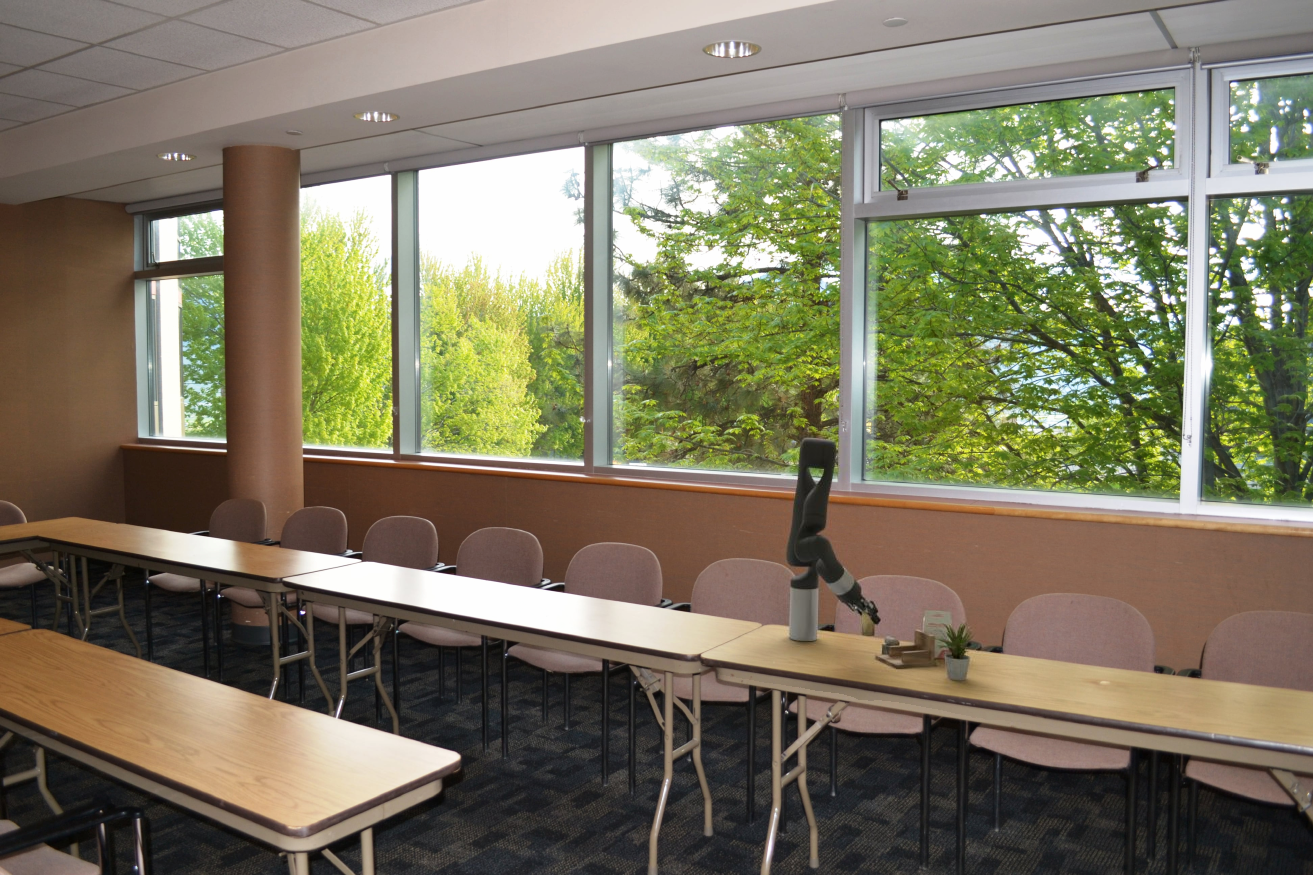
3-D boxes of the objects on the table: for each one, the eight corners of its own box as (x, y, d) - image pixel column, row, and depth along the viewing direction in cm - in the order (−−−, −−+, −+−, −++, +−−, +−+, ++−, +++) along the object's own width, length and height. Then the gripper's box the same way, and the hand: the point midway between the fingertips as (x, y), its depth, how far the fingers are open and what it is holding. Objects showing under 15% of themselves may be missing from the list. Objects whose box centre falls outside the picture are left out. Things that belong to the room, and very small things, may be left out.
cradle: (867, 654, 304) (868, 627, 304) (906, 651, 309) (907, 625, 309) (896, 668, 289) (897, 640, 288) (937, 665, 293) (937, 637, 293)
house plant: (936, 667, 291) (938, 613, 290) (984, 673, 284) (986, 618, 284) (925, 678, 278) (926, 622, 278) (975, 686, 272) (977, 628, 271)
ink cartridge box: (950, 655, 305) (951, 608, 304) (951, 659, 300) (952, 612, 300) (922, 653, 307) (923, 607, 306) (922, 657, 302) (923, 610, 302)
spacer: (858, 633, 296) (859, 602, 296) (870, 632, 297) (871, 601, 297) (865, 636, 292) (866, 605, 292) (877, 635, 293) (878, 604, 293)
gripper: (865, 579, 284) (896, 616, 290) (835, 570, 297) (865, 606, 303) (851, 598, 282) (882, 635, 288) (820, 589, 294) (851, 624, 301)
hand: (873, 620), depth 295 cm, fingers closed on spacer, 4 cm apart
